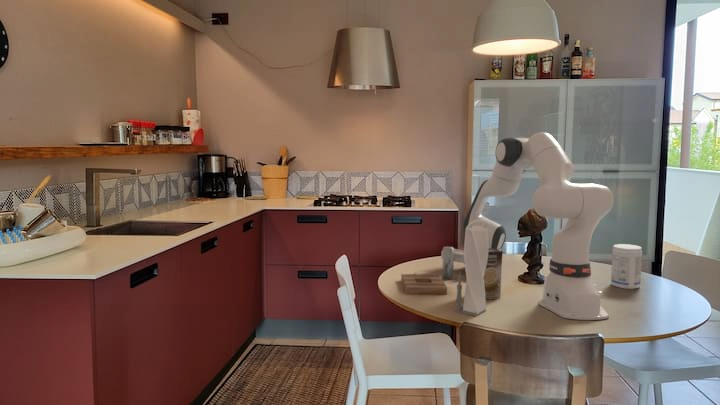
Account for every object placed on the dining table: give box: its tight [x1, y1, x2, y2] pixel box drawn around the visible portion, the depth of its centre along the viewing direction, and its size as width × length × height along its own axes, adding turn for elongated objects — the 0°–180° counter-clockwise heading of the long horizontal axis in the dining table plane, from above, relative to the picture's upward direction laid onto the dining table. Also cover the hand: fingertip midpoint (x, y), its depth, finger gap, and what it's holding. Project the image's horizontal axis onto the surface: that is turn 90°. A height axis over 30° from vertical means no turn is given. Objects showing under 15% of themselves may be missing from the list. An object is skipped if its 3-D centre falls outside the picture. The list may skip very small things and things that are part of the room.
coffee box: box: [483, 248, 503, 301], centre depth 175 cm, size 9×6×16 cm
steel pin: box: [441, 246, 455, 281], centre depth 199 cm, size 4×4×12 cm
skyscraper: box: [454, 220, 489, 317], centre depth 159 cm, size 8×8×28 cm
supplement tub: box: [610, 243, 643, 290], centre depth 190 cm, size 10×10×15 cm
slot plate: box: [400, 273, 448, 295], centre depth 188 cm, size 18×14×2 cm
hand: (454, 260), depth 202 cm, fingers open, 8 cm apart
